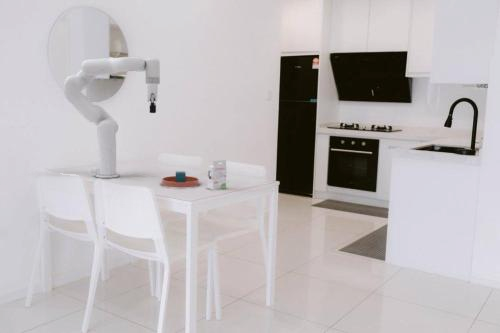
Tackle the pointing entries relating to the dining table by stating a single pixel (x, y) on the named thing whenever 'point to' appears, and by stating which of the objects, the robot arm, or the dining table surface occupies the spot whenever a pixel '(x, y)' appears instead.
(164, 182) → the bowl
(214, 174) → the ink box
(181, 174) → the block
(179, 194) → the dining table surface
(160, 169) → the dining table surface
